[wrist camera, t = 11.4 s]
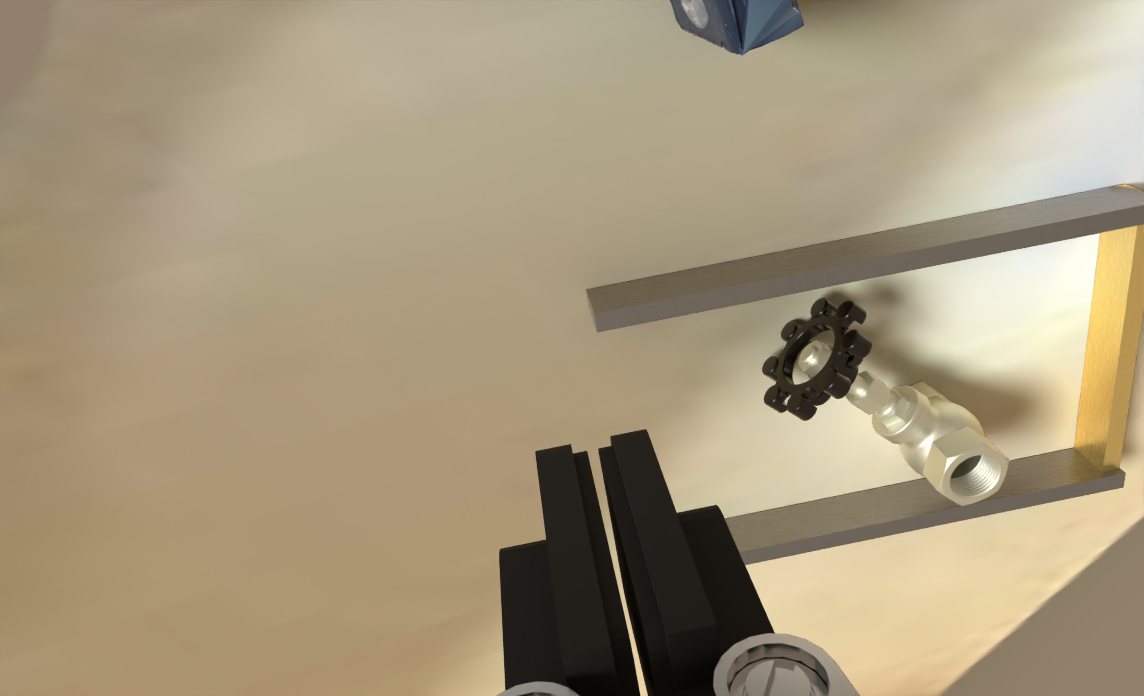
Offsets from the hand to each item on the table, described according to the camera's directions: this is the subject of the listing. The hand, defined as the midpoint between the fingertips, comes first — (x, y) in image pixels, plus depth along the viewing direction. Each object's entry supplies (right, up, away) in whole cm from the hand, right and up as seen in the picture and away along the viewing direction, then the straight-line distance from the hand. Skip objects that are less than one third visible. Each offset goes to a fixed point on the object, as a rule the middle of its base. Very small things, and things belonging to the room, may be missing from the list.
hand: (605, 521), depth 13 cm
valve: (+16, +1, +34) cm, 38 cm away
